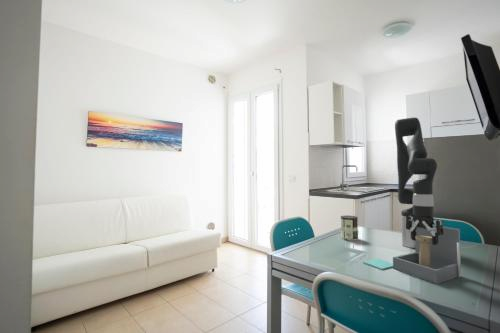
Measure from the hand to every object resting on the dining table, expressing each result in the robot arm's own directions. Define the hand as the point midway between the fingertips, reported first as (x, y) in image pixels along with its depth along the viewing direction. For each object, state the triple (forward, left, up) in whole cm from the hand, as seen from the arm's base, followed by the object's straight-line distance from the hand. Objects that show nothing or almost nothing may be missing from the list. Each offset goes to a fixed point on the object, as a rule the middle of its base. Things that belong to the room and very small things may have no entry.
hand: (424, 242), depth 111 cm
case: (0, 0, -13) cm, 13 cm away
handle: (0, 0, -13) cm, 13 cm away
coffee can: (-15, -56, -13) cm, 59 cm away
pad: (+9, -15, -13) cm, 22 cm away
